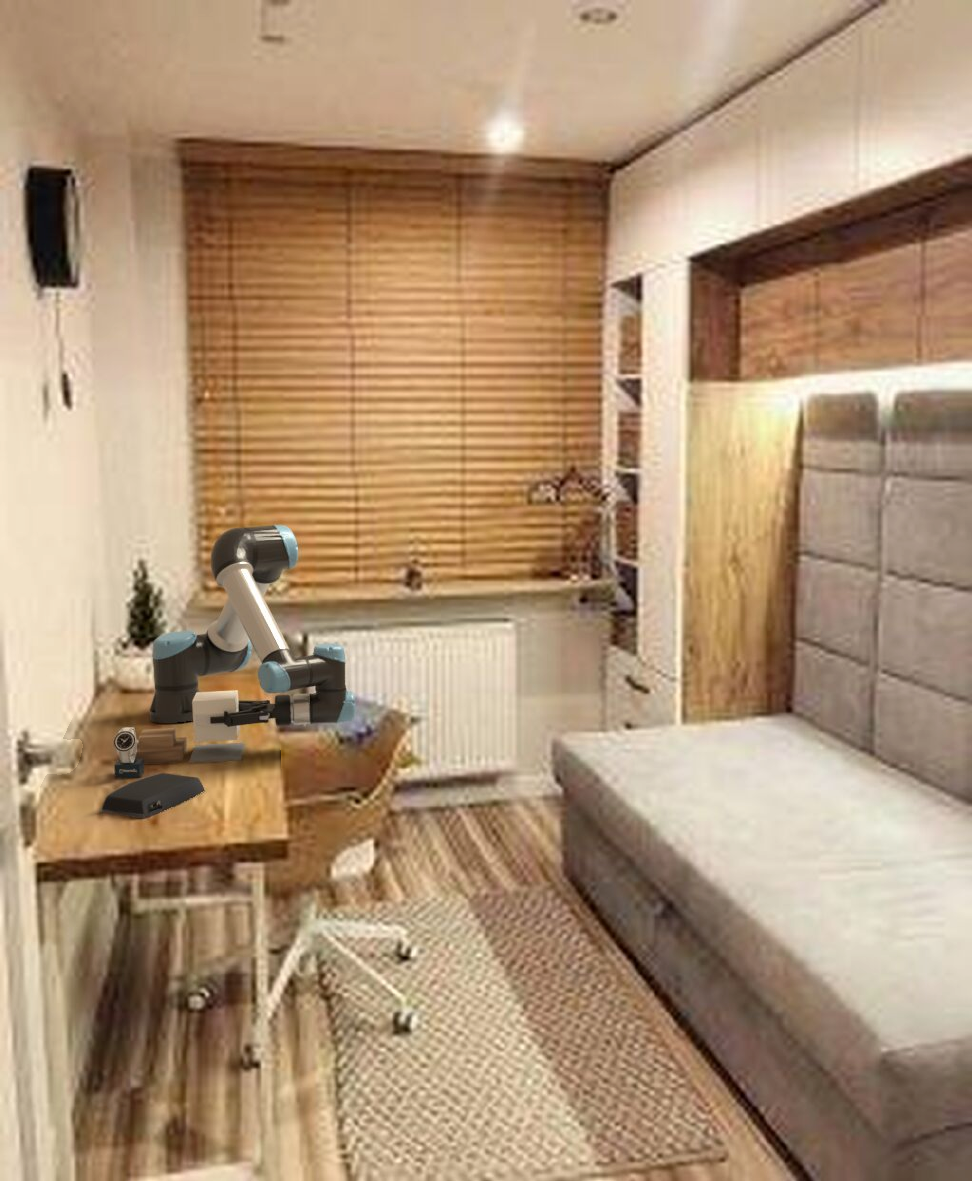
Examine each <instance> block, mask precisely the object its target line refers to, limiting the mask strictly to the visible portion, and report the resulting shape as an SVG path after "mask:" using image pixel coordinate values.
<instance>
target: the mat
mask: <svg viewBox="0 0 972 1181" xmlns="http://www.w3.org/2000/svg"><path fill="white" fill-rule="evenodd" d="M245 745H246V744H245V742H228V743H226V742H224V743H211V744H210V743H206V744H195V746H194V747H193V750H192V753H191V756H190V758H189V764H195V763H196V764H197V763H212V762H214V763H216V762H232V761H234V762H235V761H242V758H243V754H244V750H245Z"/></svg>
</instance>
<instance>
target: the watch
mask: <svg viewBox="0 0 972 1181" xmlns="http://www.w3.org/2000/svg"><path fill="white" fill-rule="evenodd" d="M137 743H138V739H137V734H136V729H135V727H134V726H133V727H132V726H131V727H122V728H121V729H120V730H119V731H118V732H117V734H116V735H115V736H114V739H113V746H114V749H115V750H116V754H117V756H119V759H118V760H117V761H116V763H114V766H113V767H114V779H131V778H132V779H134V778H137V779H138V778H141V777H142V776H143V774H144V773H145V764H144V761H143V759H135V756H136V752H137Z"/></svg>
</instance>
